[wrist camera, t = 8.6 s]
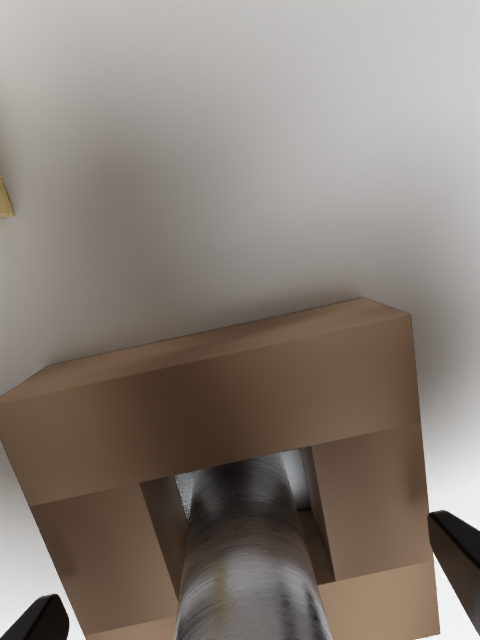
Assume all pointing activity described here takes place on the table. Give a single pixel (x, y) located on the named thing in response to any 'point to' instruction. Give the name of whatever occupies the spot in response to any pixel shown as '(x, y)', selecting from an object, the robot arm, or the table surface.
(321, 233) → the table surface
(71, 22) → the table surface
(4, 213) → the square bit
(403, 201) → the table surface
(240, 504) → the cylinder
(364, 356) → the bore block
